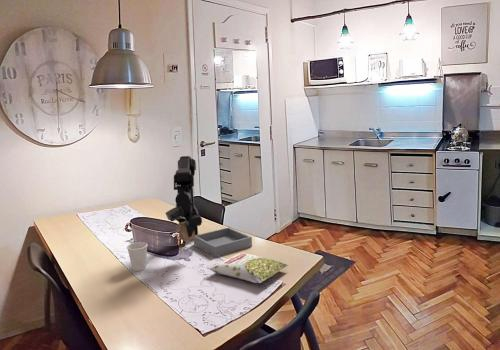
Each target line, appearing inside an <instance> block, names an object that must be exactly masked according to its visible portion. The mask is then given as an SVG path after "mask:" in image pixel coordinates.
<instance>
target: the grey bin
mask: <svg viewBox="0 0 500 350" xmlns="http://www.w3.org/2000/svg"><path fill="white" fill-rule="evenodd" d="M193 245H194V246H195V245H196V247H197V248H199V249H201V250H202V249H203V250H202V251H204V252H206V253H208V254H209V253H210V254H209V255H211V254H212V256H213V257H220V256H222V255H226V254H230V253H233V252H237V251H241V250H244V249H248V248H250V247H251V248H252V247H253V239H252V236H250V235H248V234H246V233H243V232H242V231H239V230H236V229H234V228H232V227H229V226H228V227H224V228H219V229H216V230H212V231H207V232H203V233H198V235H195V239H193Z"/></svg>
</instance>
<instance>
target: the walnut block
mask: <svg viewBox="0 0 500 350" xmlns="http://www.w3.org/2000/svg"><path fill="white" fill-rule="evenodd" d="M183 223H185V222H182V223H179V222H178V234H179V235H178V236H179V239H180V240H182V241H183V242H188V241H192V240H193V241H194V239H195V229H194V231H193V234H192V236H191V237H189V236H188V232H187V227H186V225H184V224H183Z"/></svg>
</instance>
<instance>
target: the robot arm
mask: <svg viewBox="0 0 500 350" xmlns="http://www.w3.org/2000/svg"><path fill="white" fill-rule="evenodd" d="M196 171H197V163H196V160H195V159H194V158H192V157H191V156H189V155H184V156H180V157H179V159H178V160H177V170H176V171H175V173H174V174H173V190H174V191H177V194H176V196H175V199H174V201H175V207H173V208H171V209H169V210H167V211H166V212H165V215H166V218H167V220H168V221H170V222H175V221H177V223H178V224H179V223H182V222H185V223H183V224H184V225H186V227H187V232H188V236H189V237H191V236H192V234H193V231H194V229H195V235H199V229H198V227H200V226H201V225H202V223H203V218H202V217H201V215H200V214H199V211H198V208H197V207H196V206H195V197H194V196H195V195H194V187H195V178H194V177H195V173H196Z"/></svg>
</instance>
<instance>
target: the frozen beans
mask: <svg viewBox="0 0 500 350" xmlns="http://www.w3.org/2000/svg"><path fill="white" fill-rule="evenodd" d="M288 266H289V264H286V263H284V262H281V261H279V260H275V259H273V258H272V259H271V258H267V257H264V256H263V257H262V256H259V255H254V254H250V253H241V252H240V253H237V254H234V255H233V256H231V257H229V258H228V259H225V260H223V261H221V262H219V263H217V264H215V265H213V266H211V267H208V268H207V269H209V271H212V272H214V273H216V274H220V275H224V276H228V277H231V278H235V279H239V280H243V281H247V282H250V283H254V284H261V283H263V282H264V281H266V280H267V279H270V278H271V277H273V276H274V275H275V274H277V273H278V272H280V271H282V270H283V269H284V268H286V267H288Z"/></svg>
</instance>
